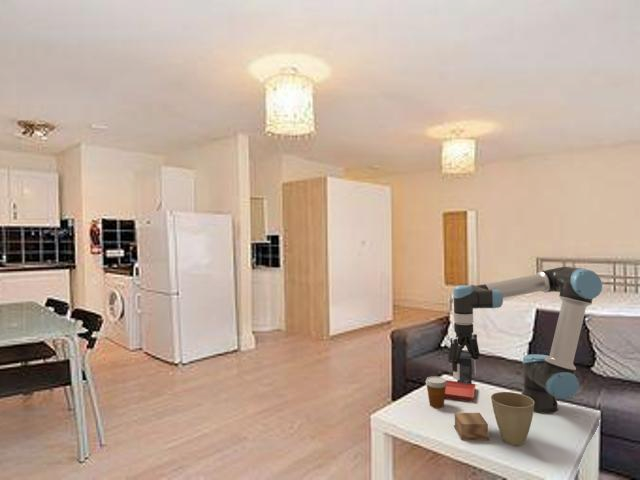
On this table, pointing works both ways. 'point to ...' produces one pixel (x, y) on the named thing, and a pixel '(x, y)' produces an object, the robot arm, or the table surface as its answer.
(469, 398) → the plant saucer
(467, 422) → the pedestal
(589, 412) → the table surface
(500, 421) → the plant pot
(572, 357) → the robot arm
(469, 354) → the box
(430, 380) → the disposable coffee cup
